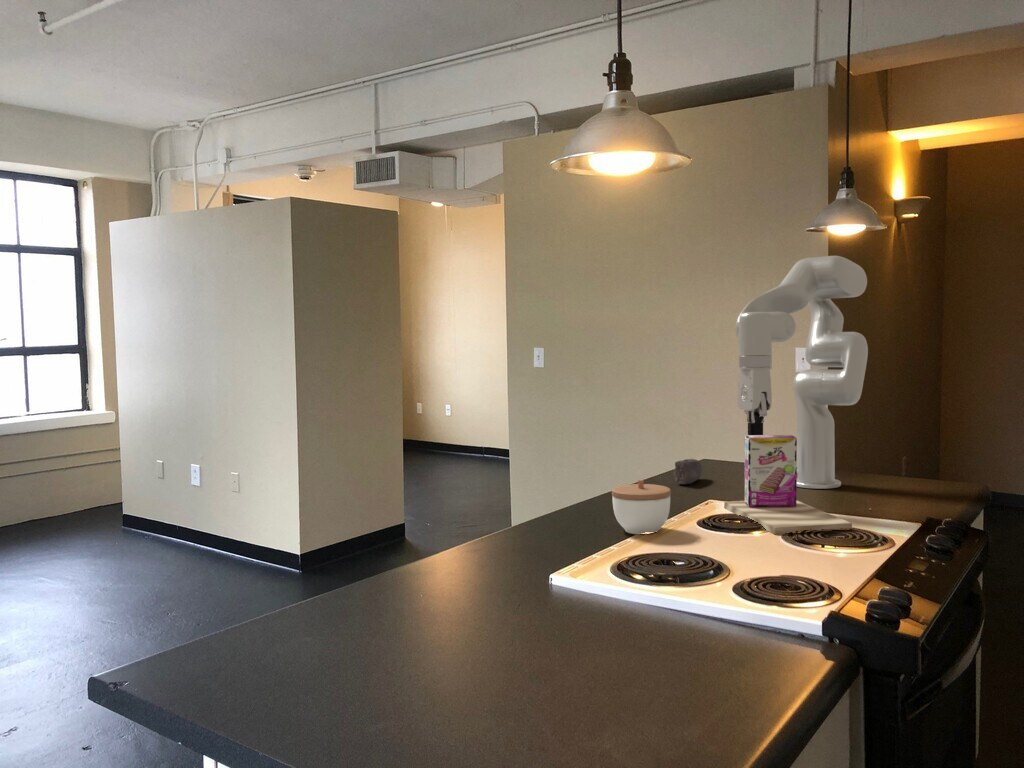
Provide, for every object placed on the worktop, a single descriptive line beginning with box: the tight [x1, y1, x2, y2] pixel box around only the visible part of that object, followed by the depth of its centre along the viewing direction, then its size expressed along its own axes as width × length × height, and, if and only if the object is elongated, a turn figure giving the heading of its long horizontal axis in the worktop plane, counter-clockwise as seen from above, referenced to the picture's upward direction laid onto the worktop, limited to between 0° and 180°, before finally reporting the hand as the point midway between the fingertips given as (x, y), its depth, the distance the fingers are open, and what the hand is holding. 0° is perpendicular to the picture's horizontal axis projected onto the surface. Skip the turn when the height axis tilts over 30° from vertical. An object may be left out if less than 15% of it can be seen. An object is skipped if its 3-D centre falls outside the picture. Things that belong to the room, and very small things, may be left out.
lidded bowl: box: [611, 479, 672, 535], centre depth 178 cm, size 13×13×11 cm
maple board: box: [723, 499, 853, 536], centre depth 187 cm, size 28×17×2 cm, turn 7°
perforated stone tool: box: [673, 458, 703, 485], centre depth 235 cm, size 15×5×7 cm, turn 143°
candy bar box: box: [744, 434, 798, 507], centre depth 193 cm, size 11×5×16 cm, turn 86°
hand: (755, 439), depth 200 cm, fingers closed
